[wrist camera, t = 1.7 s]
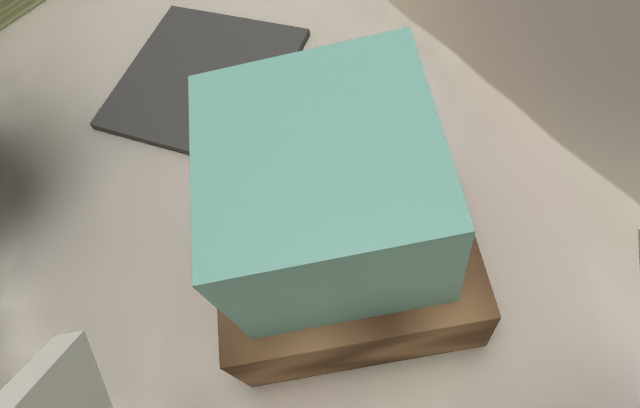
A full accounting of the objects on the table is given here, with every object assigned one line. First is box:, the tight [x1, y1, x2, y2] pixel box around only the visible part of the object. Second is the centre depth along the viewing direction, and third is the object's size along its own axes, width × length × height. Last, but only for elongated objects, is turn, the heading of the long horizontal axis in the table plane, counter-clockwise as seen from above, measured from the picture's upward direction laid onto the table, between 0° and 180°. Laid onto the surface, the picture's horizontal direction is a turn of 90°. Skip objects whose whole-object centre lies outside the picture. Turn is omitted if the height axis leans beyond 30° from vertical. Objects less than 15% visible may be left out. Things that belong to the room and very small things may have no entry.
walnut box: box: [217, 235, 501, 387], centre depth 26 cm, size 12×11×7 cm
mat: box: [90, 6, 310, 155], centre depth 37 cm, size 12×12×1 cm
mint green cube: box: [188, 26, 475, 339], centre depth 21 cm, size 9×9×7 cm
